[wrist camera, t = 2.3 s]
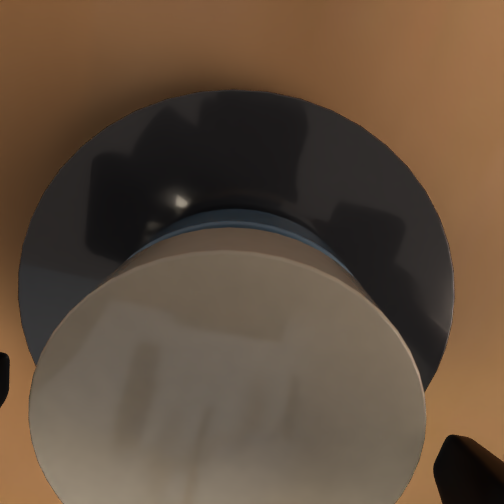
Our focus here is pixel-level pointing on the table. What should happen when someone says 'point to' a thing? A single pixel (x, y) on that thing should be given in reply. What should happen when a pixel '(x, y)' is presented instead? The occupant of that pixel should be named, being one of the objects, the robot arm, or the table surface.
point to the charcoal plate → (241, 205)
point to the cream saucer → (227, 382)
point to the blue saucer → (243, 220)
